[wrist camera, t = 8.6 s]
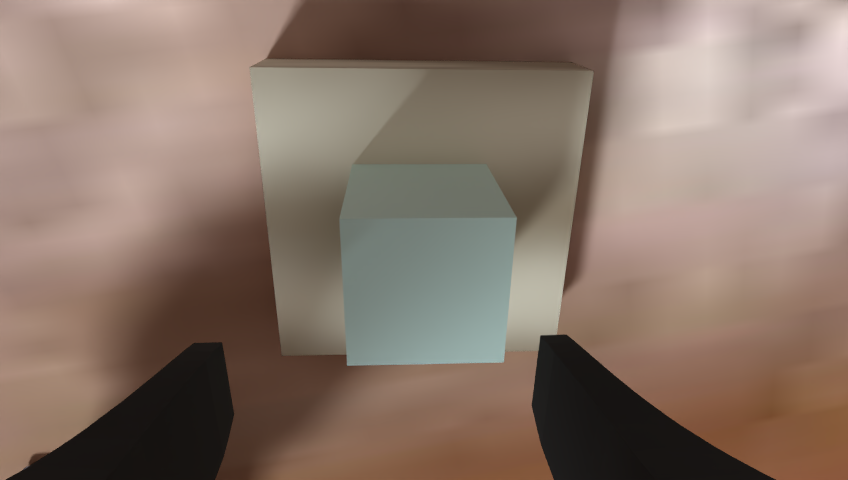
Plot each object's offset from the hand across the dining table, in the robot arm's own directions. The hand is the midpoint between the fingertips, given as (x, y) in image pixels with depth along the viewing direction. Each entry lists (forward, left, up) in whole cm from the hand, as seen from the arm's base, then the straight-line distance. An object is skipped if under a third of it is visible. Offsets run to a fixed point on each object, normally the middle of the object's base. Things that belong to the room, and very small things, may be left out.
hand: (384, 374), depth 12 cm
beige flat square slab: (0, -1, -11) cm, 11 cm away
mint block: (0, -1, -8) cm, 8 cm away
